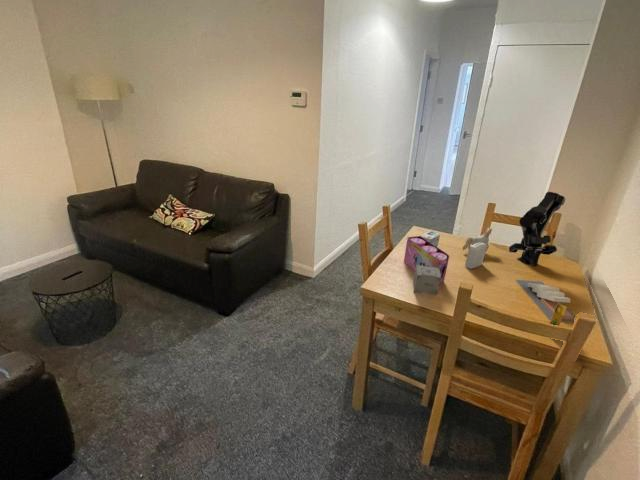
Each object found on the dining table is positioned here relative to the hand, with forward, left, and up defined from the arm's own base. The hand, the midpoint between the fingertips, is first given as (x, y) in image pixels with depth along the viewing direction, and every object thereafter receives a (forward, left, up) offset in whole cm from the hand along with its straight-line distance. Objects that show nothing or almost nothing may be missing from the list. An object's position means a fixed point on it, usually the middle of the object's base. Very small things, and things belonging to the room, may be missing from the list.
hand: (535, 266), depth 153 cm
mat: (+9, +12, -8) cm, 17 cm away
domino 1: (+3, +4, -7) cm, 8 cm away
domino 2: (+5, +7, -7) cm, 11 cm away
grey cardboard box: (+50, -17, -8) cm, 54 cm away
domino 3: (+8, +10, -7) cm, 15 cm away
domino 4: (+10, +13, -7) cm, 18 cm away
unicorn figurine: (-5, -35, -8) cm, 36 cm away
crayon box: (+28, +24, -8) cm, 38 cm away
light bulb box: (+22, -44, -8) cm, 49 cm away
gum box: (+39, -30, -8) cm, 49 cm away
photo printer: (+11, -23, -8) cm, 26 cm away
